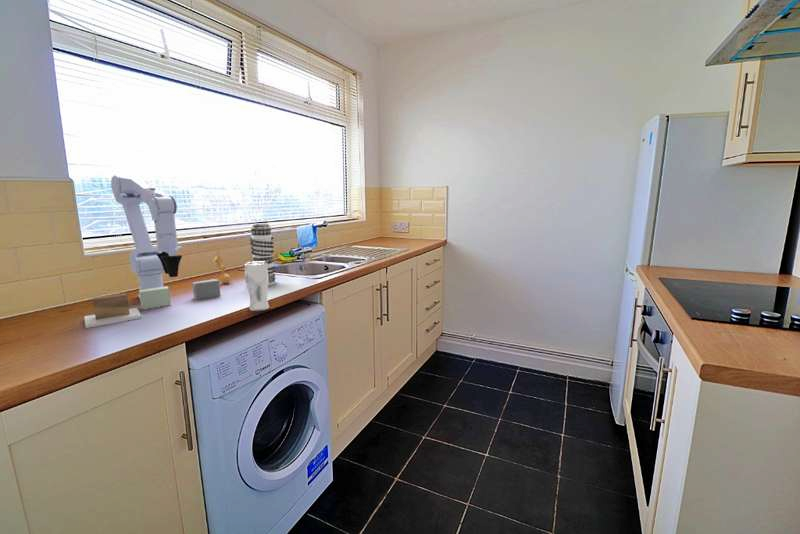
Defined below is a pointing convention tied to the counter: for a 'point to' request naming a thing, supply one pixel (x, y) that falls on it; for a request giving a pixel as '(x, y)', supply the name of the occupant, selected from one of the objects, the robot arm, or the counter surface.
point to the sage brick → (154, 297)
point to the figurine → (222, 270)
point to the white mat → (111, 319)
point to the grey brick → (206, 289)
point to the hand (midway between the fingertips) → (171, 275)
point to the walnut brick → (111, 306)
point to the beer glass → (257, 285)
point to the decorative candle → (263, 248)
